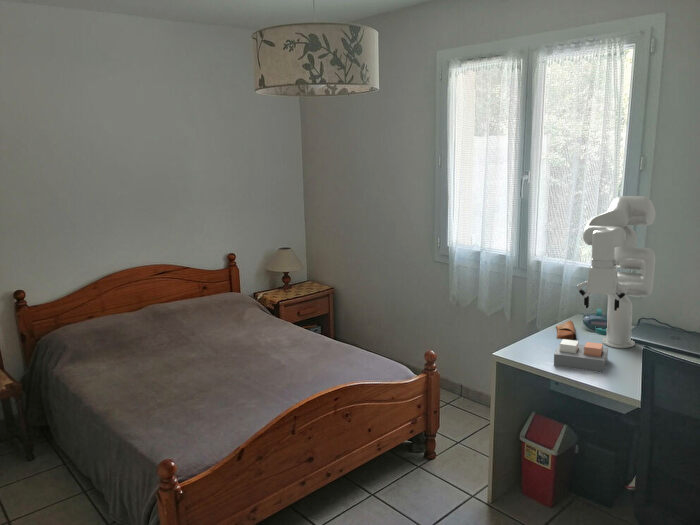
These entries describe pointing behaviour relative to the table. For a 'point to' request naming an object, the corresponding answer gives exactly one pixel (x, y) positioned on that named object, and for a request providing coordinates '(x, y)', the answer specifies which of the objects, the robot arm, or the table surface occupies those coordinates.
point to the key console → (581, 360)
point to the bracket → (600, 330)
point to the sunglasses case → (566, 331)
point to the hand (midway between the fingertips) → (601, 308)
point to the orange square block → (593, 349)
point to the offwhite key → (569, 346)
